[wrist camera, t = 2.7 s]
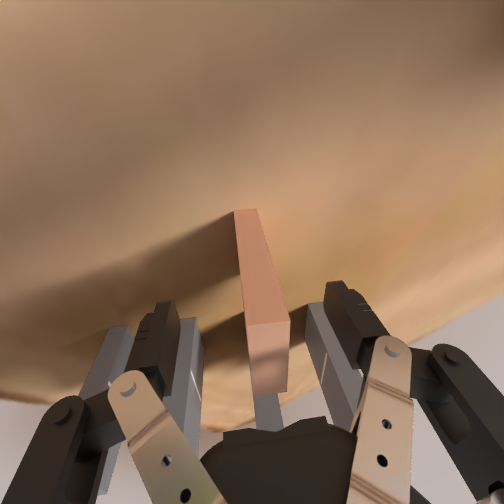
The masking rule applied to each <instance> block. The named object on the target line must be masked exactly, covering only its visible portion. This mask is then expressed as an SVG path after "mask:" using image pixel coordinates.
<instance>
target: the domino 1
mask: <svg viewBox="0 0 504 504" xmlns="http://www.w3.org/2000/svg"><path fill="white" fill-rule="evenodd" d="M134 341H135V338H134V336H133V334H132V332H131V330H130V328H129V326H120V327H111V328H109V330H108V332H107V334H106V337H105V339H104V341H103V343H102V345H101V347H100V350H99V352H98V354H97V356H96V358H95V360H94V363H93V365H92V367H91V369H90V371H89V373H88V376H87V378H86V380H85V382H84V384H83V386H82V389H81V391H80V393H79V395H78V396H79V397H81V398H82V399H83V400H85V399H87V398H90V397H92V396H94V395H96V394H99V393H101V392H103V391H105V390H107V389H109V388H110V386H111V385H112V383H113V382H114V381H115V380H116V379H117V378H118V377H119V376H120V375H122V374H123V372H124V370H125V367H126V364H127V361H128V358H129V355H130V352H131V349H132V346H133V343H134ZM120 445H121V442H120V443H118V444H116V445H114V446H112V447H110V448H109V450H108V454H107V458H106V462H105V466H104V470H103V474H102V478H101V483H100V487H99V491H98V495H103V494H107V491H108V488H109V484H110V480H111V477H112V473H113V470H114V466H115V463H116V459H117V455H118V452H119V448H120ZM98 495H97V496H98Z"/></svg>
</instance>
